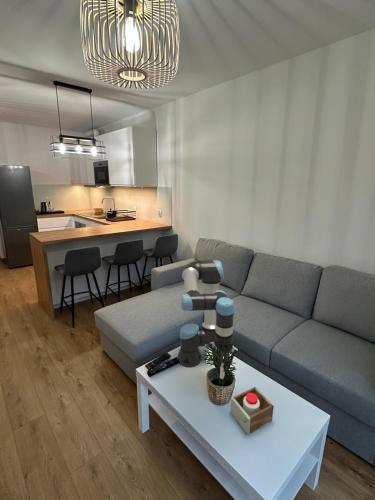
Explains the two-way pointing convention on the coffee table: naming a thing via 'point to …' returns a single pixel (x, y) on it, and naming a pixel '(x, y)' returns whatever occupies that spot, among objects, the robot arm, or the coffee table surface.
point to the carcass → (264, 409)
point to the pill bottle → (251, 404)
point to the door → (240, 415)
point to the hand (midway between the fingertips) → (222, 376)
